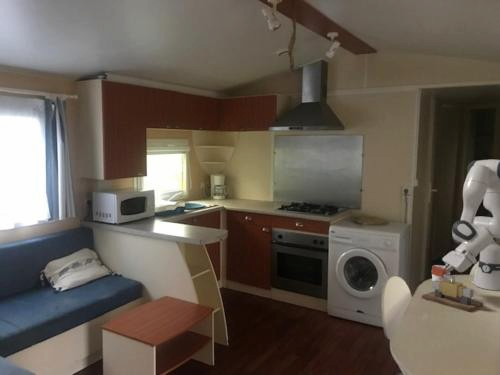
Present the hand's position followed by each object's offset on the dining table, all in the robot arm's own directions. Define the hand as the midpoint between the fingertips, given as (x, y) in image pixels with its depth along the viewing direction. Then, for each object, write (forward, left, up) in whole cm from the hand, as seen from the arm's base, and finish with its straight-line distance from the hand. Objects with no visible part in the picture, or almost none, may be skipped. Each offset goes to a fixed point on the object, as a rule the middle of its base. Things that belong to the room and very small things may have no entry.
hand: (443, 272), depth 206 cm
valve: (+5, +7, -11) cm, 14 cm away
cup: (-13, -8, -13) cm, 20 cm away
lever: (+3, +2, -2) cm, 5 cm away
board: (+4, +7, -13) cm, 15 cm away
